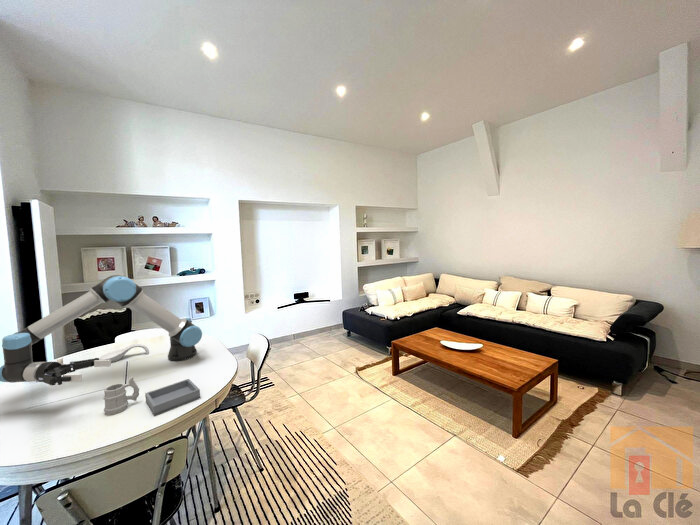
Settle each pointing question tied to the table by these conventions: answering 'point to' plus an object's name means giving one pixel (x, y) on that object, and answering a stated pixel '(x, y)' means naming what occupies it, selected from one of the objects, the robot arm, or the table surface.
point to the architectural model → (60, 361)
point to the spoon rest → (121, 353)
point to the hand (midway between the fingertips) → (96, 369)
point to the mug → (119, 397)
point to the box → (172, 396)
